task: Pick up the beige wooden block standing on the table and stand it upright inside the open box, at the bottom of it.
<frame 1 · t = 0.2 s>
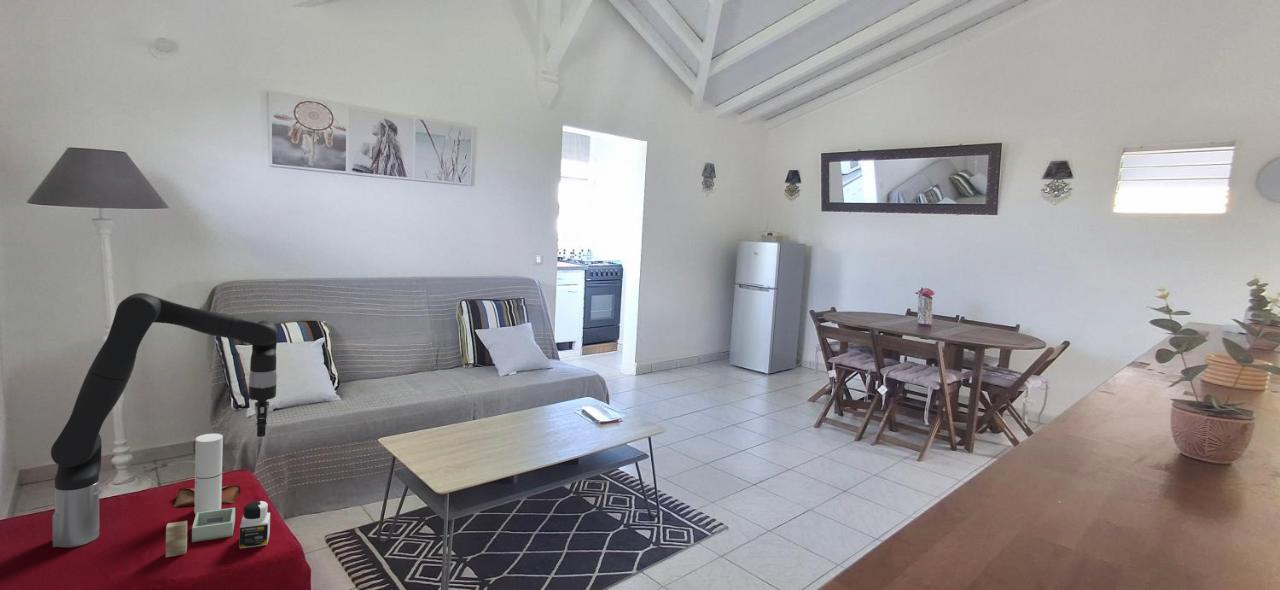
hand: (260, 431, 191), 29 cm above the table, tool pointing down, fingers open, 8 cm apart
open box: (214, 531, 182), on the table
beige wooden block: (176, 553, 170), on the table
medicine bottle: (254, 541, 180), on the table
sunglasses case: (206, 501, 200), on the table
cylindrical container: (207, 510, 194), on the table
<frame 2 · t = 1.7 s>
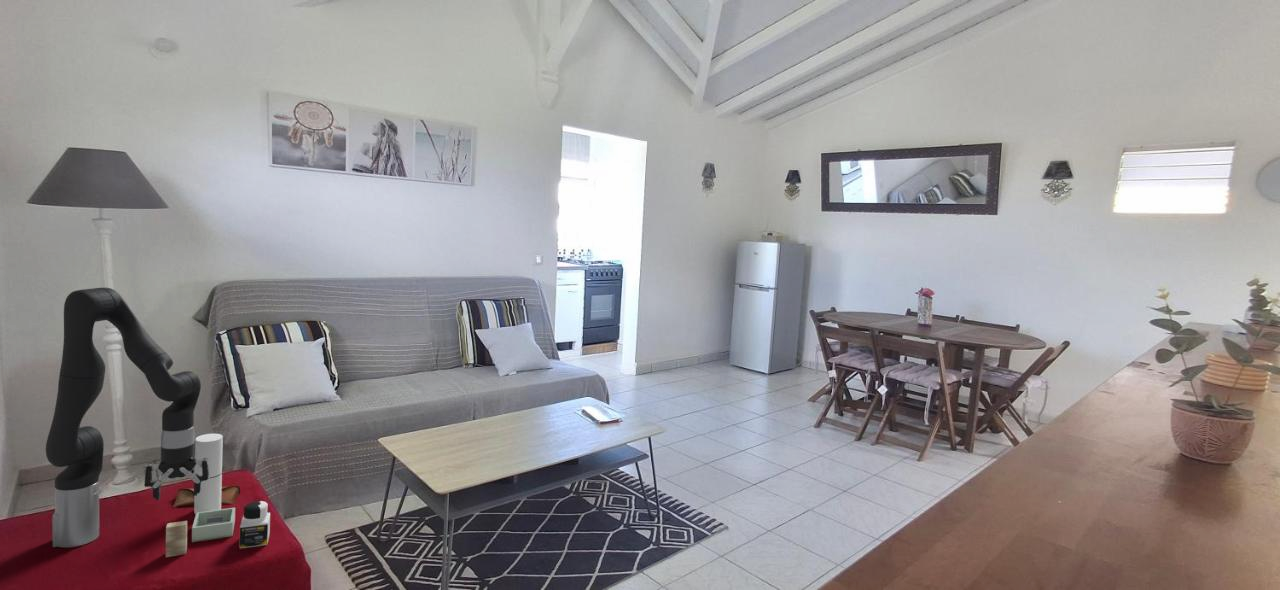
hand: (177, 496, 168), 17 cm above the table, tool pointing down, fingers open, 8 cm apart
nothing on the table moved.
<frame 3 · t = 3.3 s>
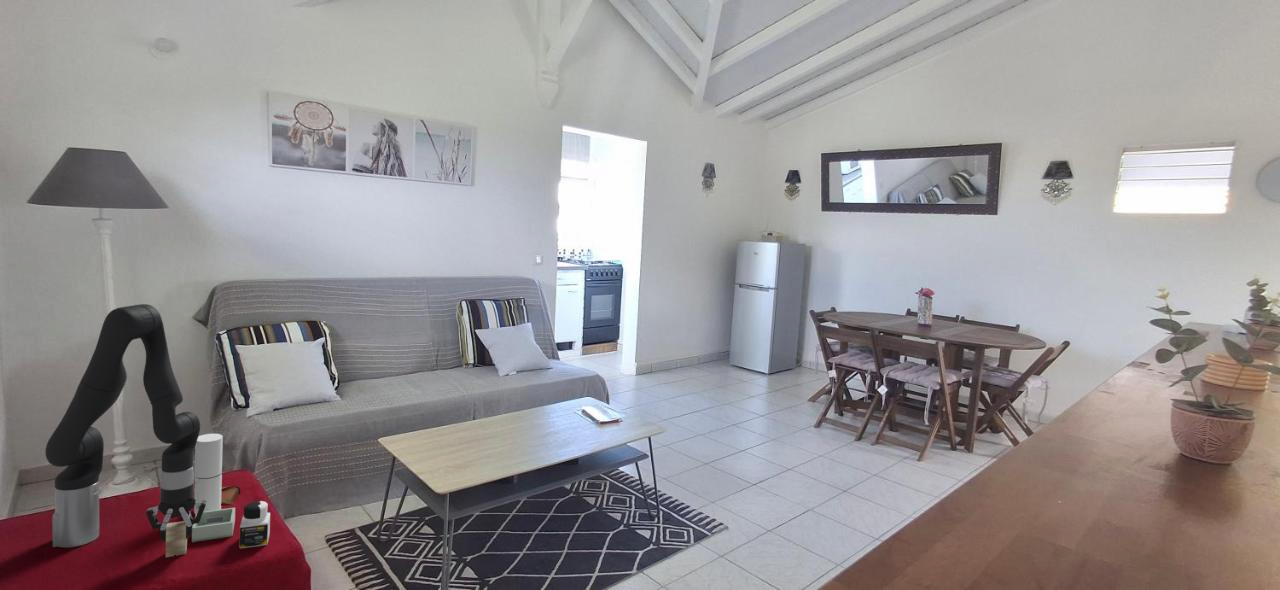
hand: (176, 538, 169), 5 cm above the table, tool pointing down, fingers closed on beige wooden block, 4 cm apart
beige wooden block: (176, 553, 170), on the table, touching gripper
everything else where it was.
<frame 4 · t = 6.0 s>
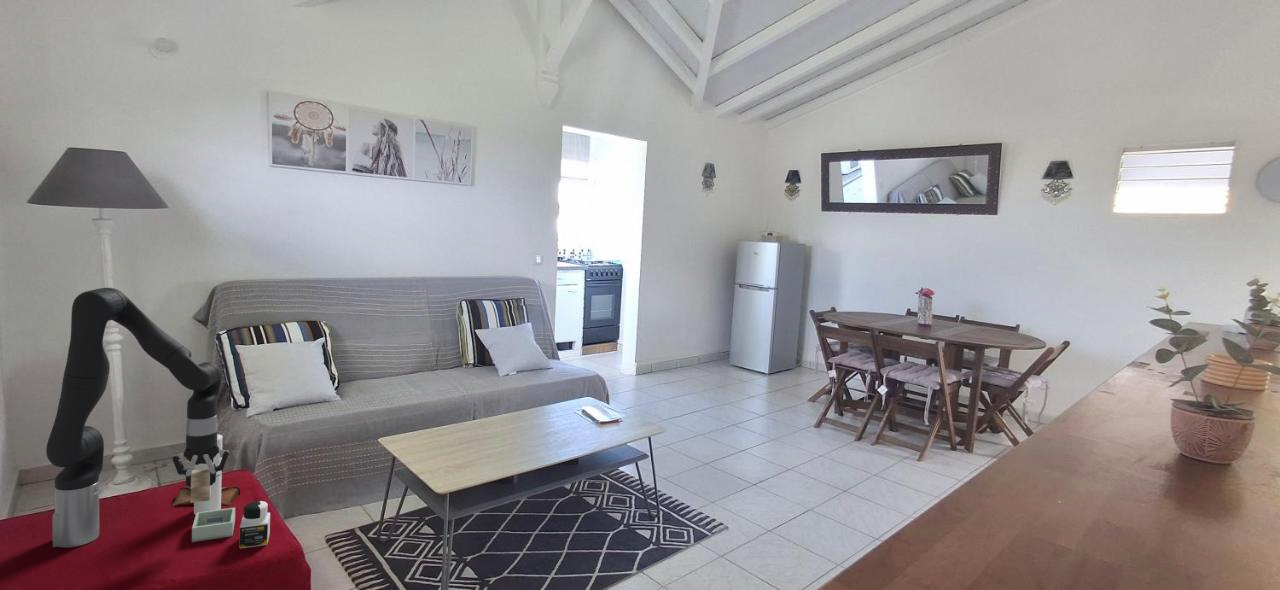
hand: (201, 485, 175), 17 cm above the table, tool pointing down, fingers closed on beige wooden block, 4 cm apart
beige wooden block: (200, 499, 176), point 13 cm above the table, touching gripper
everything else where it was.
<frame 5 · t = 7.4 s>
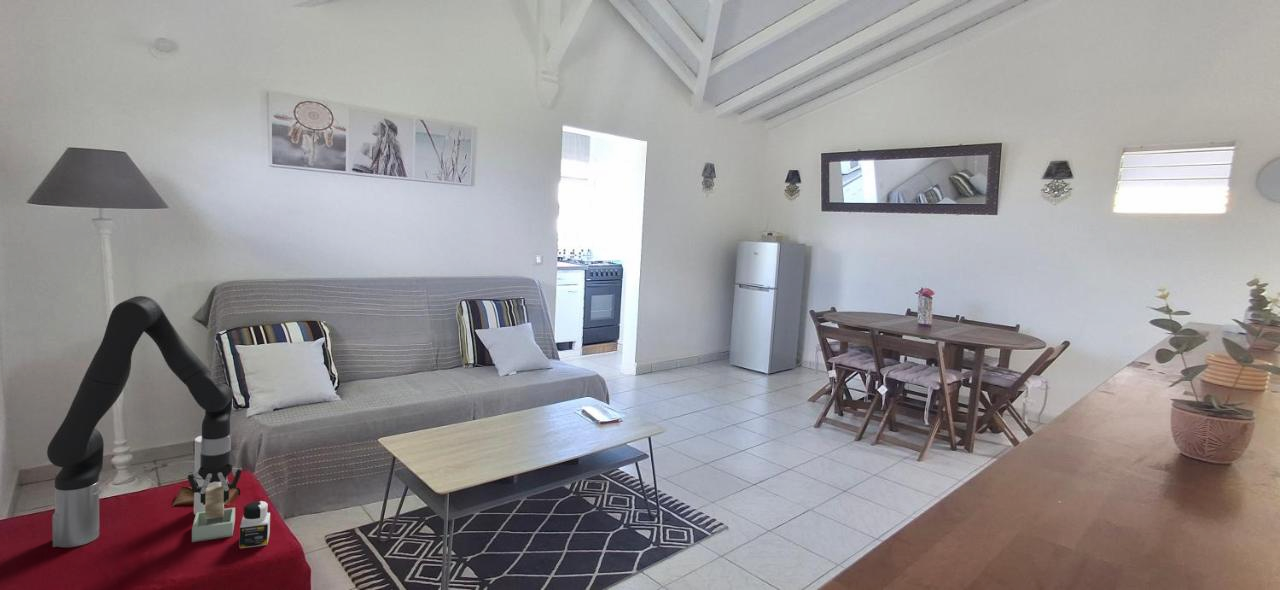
hand: (215, 502, 181), 10 cm above the table, tool pointing down, fingers closed on beige wooden block, 4 cm apart
beige wooden block: (214, 516, 182), point 5 cm above the table, touching gripper
everything else where it was.
when the fingers open (6 cm above the table, at t = 8.6 s): beige wooden block stays where it is, resting on open box.
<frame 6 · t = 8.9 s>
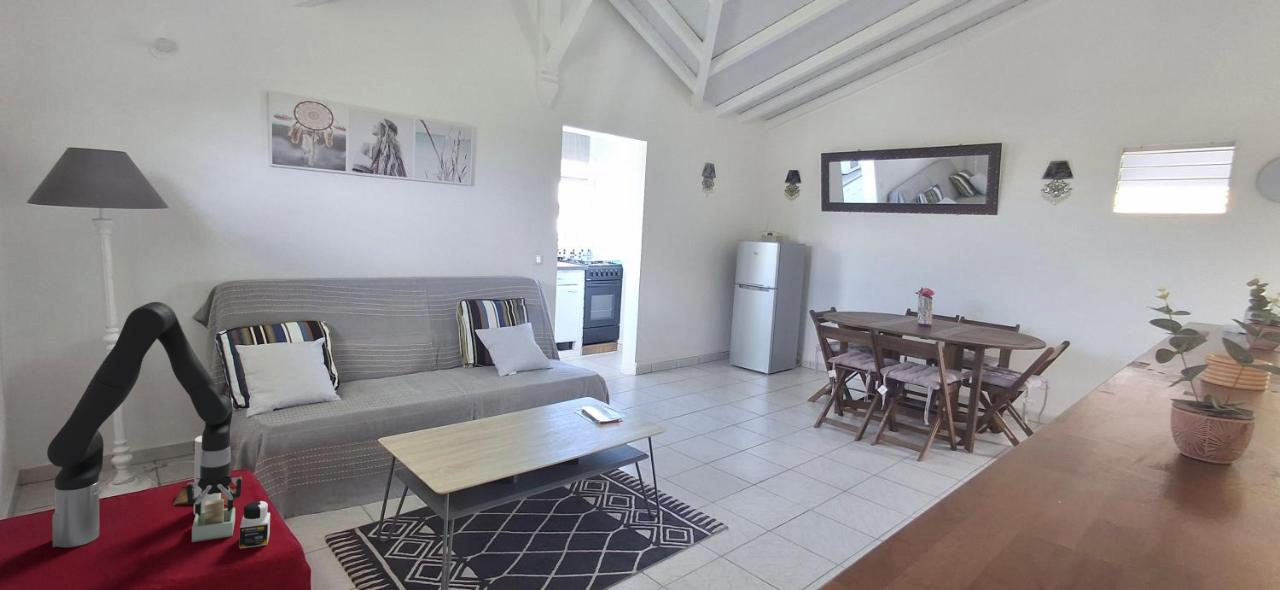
hand: (214, 512, 182), 6 cm above the table, tool pointing down, fingers open, 7 cm apart
beige wooden block: (214, 529, 182), point 1 cm above the table, touching open box
everything else where it was.
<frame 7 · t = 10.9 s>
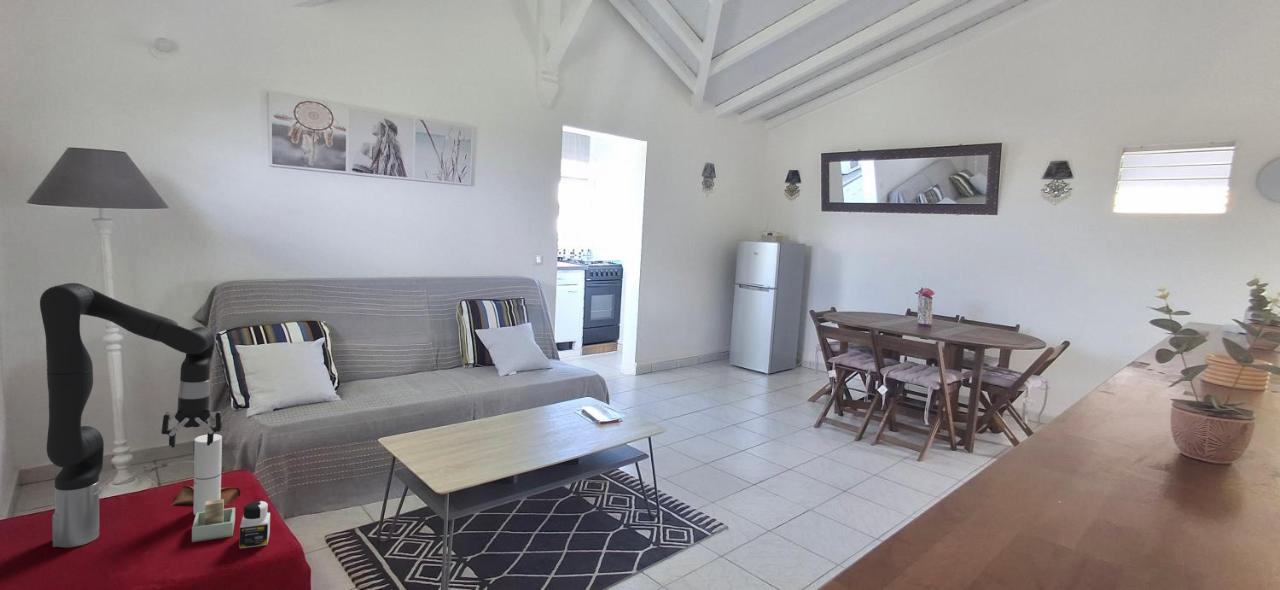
hand: (191, 445, 178), 28 cm above the table, tool pointing down, fingers open, 8 cm apart
sunglasses case: (205, 501, 200), on the table, touching cylindrical container
cylindrical container: (207, 511, 193), on the table, touching sunglasses case
everything else where it was.
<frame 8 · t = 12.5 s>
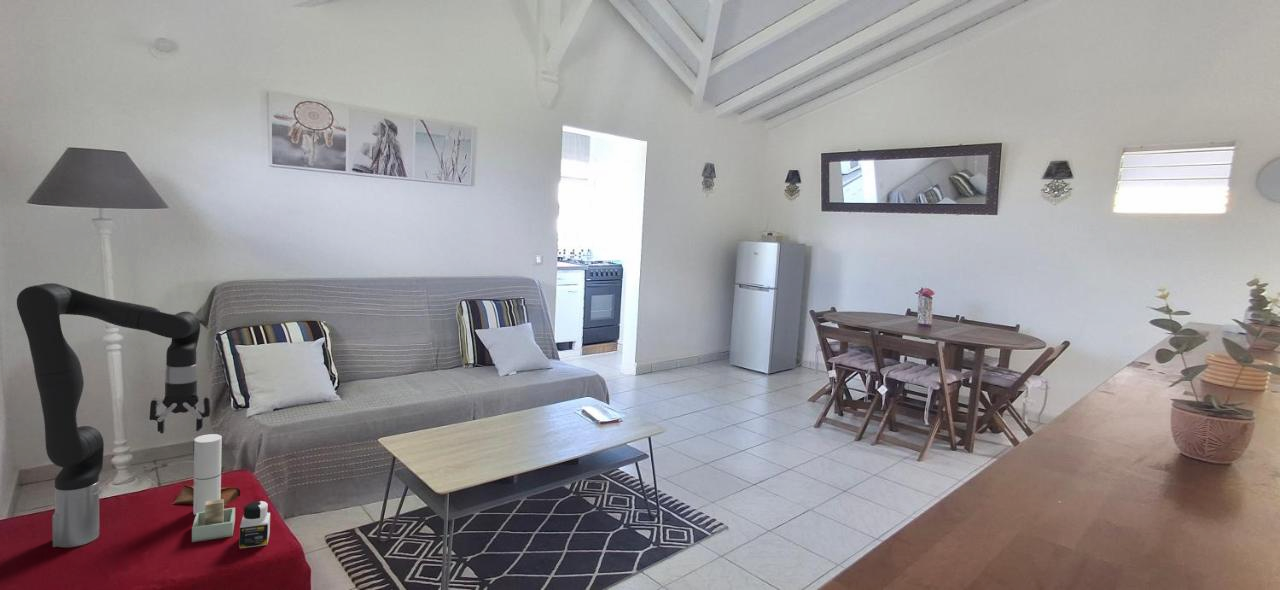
hand: (180, 431, 176), 32 cm above the table, tool pointing down, fingers open, 8 cm apart
sunglasses case: (205, 501, 200), on the table
cylindrical container: (206, 511, 193), on the table
everything else where it was.
at the end: beige wooden block 0.0 cm off-centre on the open box, point 0.6 cm above the open box's base; beige wooden block tilted 0°; the gripper is holding nothing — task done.
